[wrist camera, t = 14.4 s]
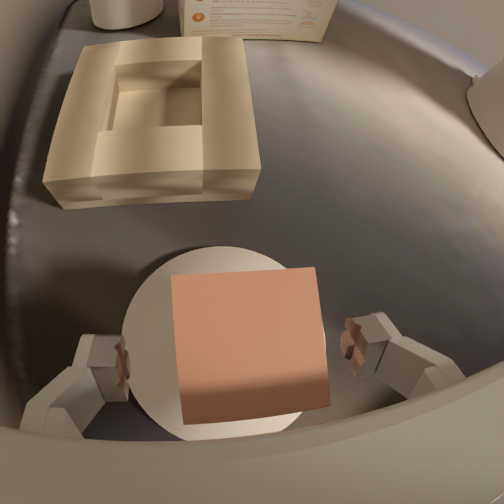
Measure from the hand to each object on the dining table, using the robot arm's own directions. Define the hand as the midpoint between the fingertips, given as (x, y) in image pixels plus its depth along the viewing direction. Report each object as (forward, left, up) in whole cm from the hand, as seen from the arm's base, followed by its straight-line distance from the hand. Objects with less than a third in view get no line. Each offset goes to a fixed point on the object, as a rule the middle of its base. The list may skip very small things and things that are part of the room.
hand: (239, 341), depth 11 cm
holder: (+4, -16, -8) cm, 18 cm away
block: (0, 0, -7) cm, 7 cm away
